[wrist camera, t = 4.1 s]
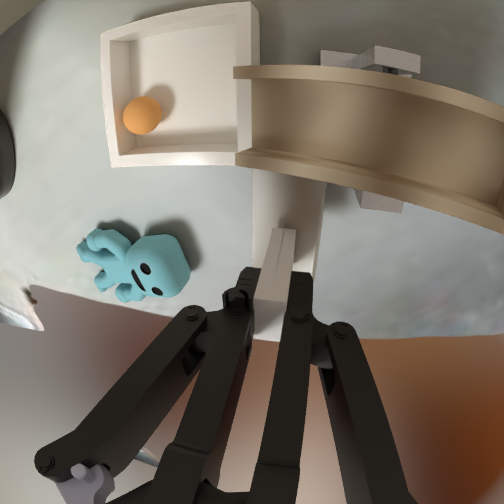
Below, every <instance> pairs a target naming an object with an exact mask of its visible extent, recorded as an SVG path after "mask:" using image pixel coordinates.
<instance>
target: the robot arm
mask: <svg viewBox="0 0 504 504" xmlns="http://www.w3.org/2000/svg"><path fill="white" fill-rule="evenodd" d="M14 171H15V159H14V149H13V142H12V138H11V133H10V130H9V127H8V124H7V121H6V119H5V117H4V115H3V113H2V112H1V111H0V199H1V198H2V197H4V196H5V195H7V194H8V193H9V191H10V189H11V187H12V184H13V180H14ZM295 237H296V229H285V228H273V229H272V233H271V236H270V240H269V244H268V247H267V251H266V255H265V258H264V262H263V266H262V268H254V267H246V268H245V269H243V270H242V271H241V273H240V275H239V279H238V281H237V284H236V286H235V287H234V288H230V289H228V290H226V291H225V292H224V293H223V295H222V298H223V309H221V310H219V311H212V312H206V311H205V310H204V308H202V307H201V306H197V305H190V306H187V307H184V308H183V309H182V310H181V311H180V312H179V313H178V314H177V315H176V316H175V317H174V318H173V319H172V321H171V322H170V323H169V324H168V325H167V326H166V327H165V328H164V329H163V330H162V332H161V333H160V334H159V335H158V336H157V337H156V338H155V339H154V340H153V342H152V343H151V344H150V345H149V346H148V347H147V348H146V349H145V351H144V352H143V353H142V354H141V355H140V356H139V357H138V359H137V360H136V361H135V362H134V363H133V364H132V365H131V366H130V368H129V369H128V370H127V371H126V372H125V373H124V374H123V375H122V376H121V378H120V379H119V380H118V381H117V382H116V383H115V384H114V386H113V387H112V388H111V389H110V390H109V391H108V392H107V394H106V395H105V396H104V397H103V398H102V399H101V400H100V401H99V403H98V404H97V405H96V406H95V407H94V408H93V410H92V411H91V412H90V413H89V414H88V415H87V416H86V418H85V419H84V420H83V421H82V422H81V423H80V425H79V426H78V427H77V428H76V429H75V430H74V431H72V432H70V433H69V434H67V435H65V436H63V437H61V438H59V439H58V440H56V441H54V442H52V443H50V444H48V445H46V446H44V447H43V448H41V449H40V450H38V451H37V453H36V455H35V460H34V463H35V467H36V469H37V470H38V472H39V473H40V474H41V475H43V476H45V477H46V478H48V479H50V480H52V481H54V482H55V483H56V485H57V487H58V489H59V491H60V493H61V495H62V496H63V498H64V500H65V502H66V503H67V504H105V501H106V498H107V497H108V495H109V494H110V493H111V492H113V491H114V489H115V485H114V484H115V483H114V479H113V478H114V477H116V476H117V475H118V474H120V473H121V472H122V471H123V470H124V469H125V468H126V467H127V466H128V465H129V464H130V463H131V461H132V460H133V459H134V458H135V456H136V455H137V454H138V452H139V451H140V450H141V448H142V447H143V446H144V444H145V443H146V442H147V440H148V439H149V438H150V436H151V435H152V434H153V432H154V431H155V430H156V428H157V427H158V426H159V424H160V423H161V422H162V420H163V419H164V418H165V416H166V415H167V414H168V412H169V411H170V410H171V408H172V407H173V406H174V404H175V403H176V401H177V400H178V398H179V397H180V396H181V395H182V393H183V392H184V391H185V389H186V388H187V386H188V385H189V383H190V382H191V381H192V379H193V378H194V377H195V375H196V374H197V373H198V371H199V370H200V372H199V375H198V378H197V380H196V383H195V385H194V388H193V391H192V394H191V396H190V399H189V401H188V404H187V407H186V409H185V412H184V415H183V418H182V420H181V423H180V426H179V428H178V431H177V434H176V436H175V439H174V441H173V442H172V443H170V444H168V446H167V447H166V448H165V450H164V452H163V455H162V457H161V460H160V463H159V465H158V468H157V471H156V474H155V476H154V479H153V480H151V481H149V482H147V483H145V484H143V485H141V486H139V487H138V488H136V489H134V490H132V491H130V492H128V493H126V494H124V495H122V496H120V497H118V498H116V499H114V500H112V501H110V502H108V503H106V504H295V502H296V496H297V489H298V483H299V476H300V467H299V466H300V457H301V449H302V441H303V433H304V424H305V416H306V407H307V396H308V386H309V374H310V364H313V365H316V366H318V371H319V375H320V379H321V383H322V388H323V392H324V396H325V400H326V405H327V409H328V414H329V418H330V423H331V427H332V432H333V437H334V441H335V446H336V451H337V456H338V461H339V466H340V471H341V476H342V481H343V486H344V491H345V497H346V502H347V504H418V503H417V502H416V501H415V499H414V498H413V497H412V495H411V494H410V493H409V492H408V488H407V484H406V481H405V477H404V473H403V470H402V466H401V463H400V459H399V455H398V452H397V449H396V445H395V442H394V439H393V435H392V432H391V429H390V426H389V423H388V419H387V417H386V414H385V410H384V407H383V404H382V401H381V398H380V395H379V393H378V390H377V387H376V384H375V381H374V379H373V376H372V373H371V370H370V368H369V365H368V362H367V359H366V357H365V355H364V351H363V349H362V346H361V344H360V341H359V338H358V336H357V333H356V331H355V329H354V328H353V327H352V326H351V325H350V324H348V323H345V322H335V323H332V324H331V325H326V324H323V323H321V322H319V321H318V320H316V318H315V317H314V316H313V313H312V302H313V277H312V276H311V274H310V272H299V271H293V261H294V250H295ZM253 335H254V339H260V340H268V341H276V342H280V344H279V350H278V356H277V362H276V368H275V374H274V379H273V385H272V390H271V396H270V401H269V406H268V412H267V417H266V422H265V427H264V432H263V437H262V442H261V447H260V451H259V456H258V460H257V463H256V467H255V471H254V476H253V480H252V484H251V488H250V492H231V493H230V492H229V493H228V492H223V491H221V490H219V489H217V486H218V482H219V477H220V468H221V464H222V460H223V457H224V453H225V449H226V446H227V442H228V438H229V435H230V431H231V427H232V423H233V419H234V416H235V412H236V408H237V404H238V400H239V396H240V393H241V388H242V385H243V381H244V377H245V373H246V369H247V365H248V361H249V357H250V353H251V349H252V339H253ZM200 368H201V369H200Z"/></svg>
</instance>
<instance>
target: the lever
mask: <svg viewBox="0 0 504 504" xmlns="http://www.w3.org/2000/svg"><path fill="white" fill-rule="evenodd" d="M233 79H251V116H252V148H249V149H246V150H243V151H241V152H238V153H235V166H241V167H248V168H252V233H253V267H255V268H262V266H263V262H264V258H265V255H266V251H267V247H268V244H269V240H270V236H271V233H272V229H273V228H285V229H296V237H295V250H294V261H293V271H299V272H310V274H311V276H312V277H313V281H314V278H315V272H316V265H317V258H318V251H319V243H320V236H321V228H322V219H323V211H324V202H325V192H326V182H329V183H333V184H338V185H342V186H346V187H351V188H355V189H359V190H363V191H367V192H371V193H375V194H379V195H383V196H387V197H390V198H394V199H398V200H401V201H405V202H408V203H412V204H415V205H419V206H422V207H425V208H429V209H432V210H435V211H438V212H442V213H445V214H448V215H451V216H454V217H457V218H460V219H463V220H466V221H469V222H471V223H474V224H477V225H480V226H483V227H485V228H488V229H491V230H493V231H496V232H499V233H501V234H504V107H503V106H501V105H498V104H496V103H493V102H490V101H488V100H485V99H482V98H480V97H477V96H474V95H471V94H468V93H465V92H462V91H459V90H456V89H452V88H449V87H445V86H442V85H438V84H434V83H430V82H426V81H422V80H418V79H413V78H409V77H404V76H399V75H393V74H388V73H382V72H375V71H368V70H361V69H352V68H343V67H331V66H316V65H249V66H233Z"/></svg>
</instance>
